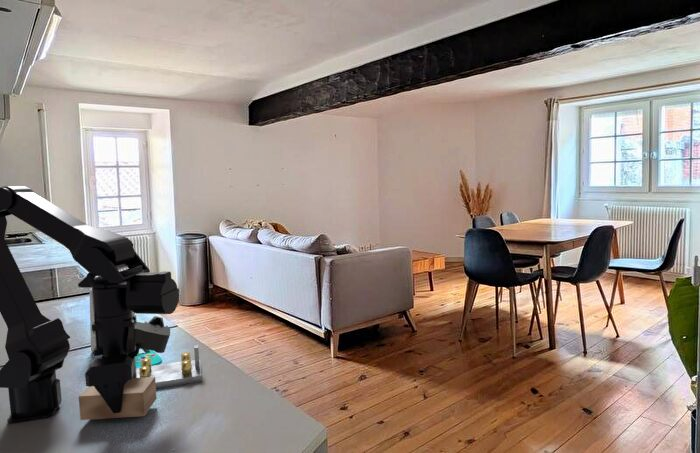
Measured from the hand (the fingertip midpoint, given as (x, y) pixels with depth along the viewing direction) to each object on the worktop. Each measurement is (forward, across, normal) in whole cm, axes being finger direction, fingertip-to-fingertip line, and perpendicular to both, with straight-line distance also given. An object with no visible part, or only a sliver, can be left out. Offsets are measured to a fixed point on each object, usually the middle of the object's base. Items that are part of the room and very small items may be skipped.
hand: (119, 402), depth 77 cm
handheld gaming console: (+3, +27, 0) cm, 27 cm away
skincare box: (+2, +36, +5) cm, 36 cm away
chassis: (+2, +13, -7) cm, 15 cm away
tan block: (+1, 0, 0) cm, 1 cm away
